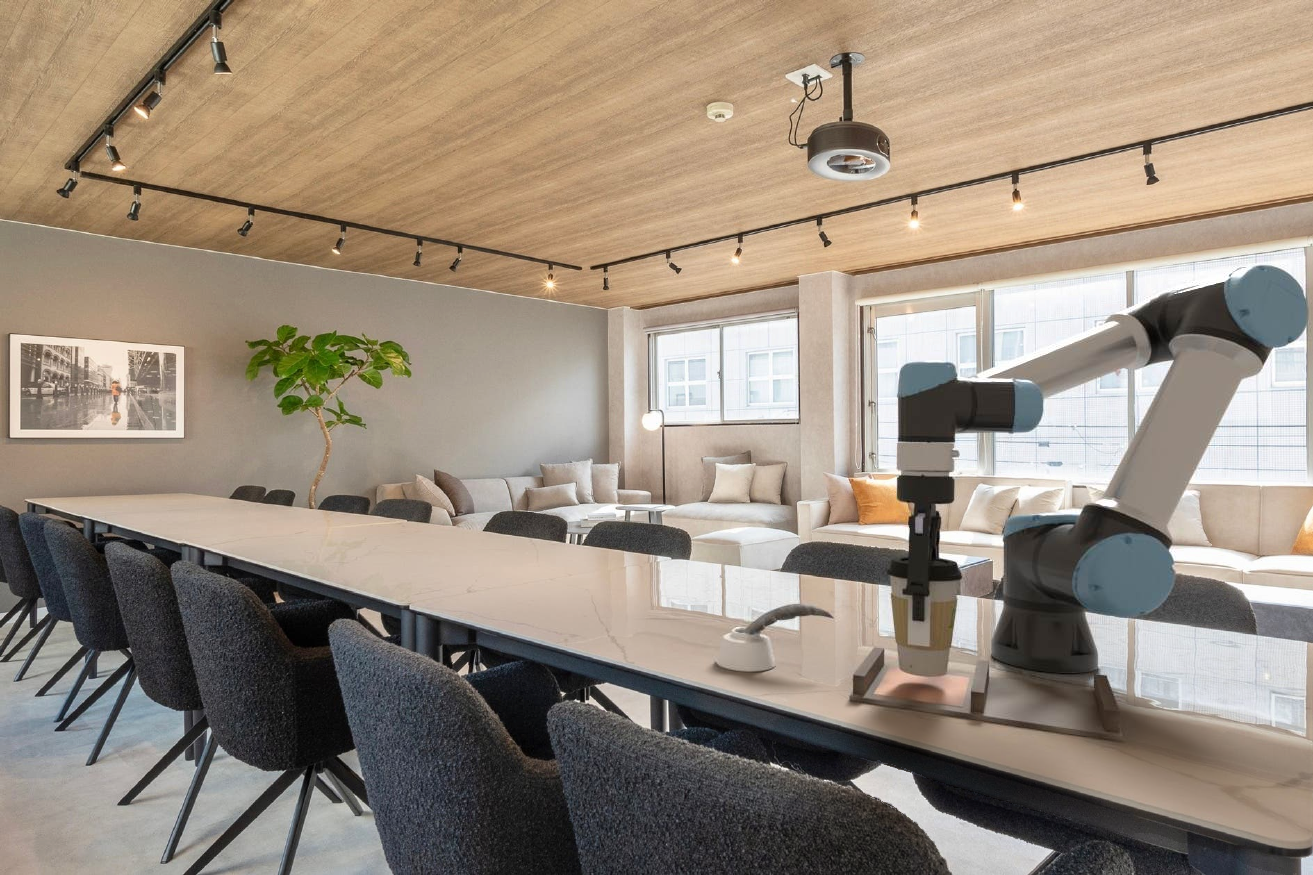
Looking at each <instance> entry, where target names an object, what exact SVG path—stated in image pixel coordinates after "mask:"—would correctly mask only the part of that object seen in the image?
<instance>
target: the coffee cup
mask: <svg viewBox="0 0 1313 875" xmlns="http://www.w3.org/2000/svg"><path fill="white" fill-rule="evenodd" d="M907 573H908V556H895V557H893V558H892V559H891V561H890V565H889V566H888V567H887V571H886V574H887V575H889V578H890V588H891V592H890V600H891V601H890V603H891V609H892V611H891V612H892V618H893V620H892V621H893V629H894V641H895V643H896V647H897V648H896V649H897V657H898V658H897V659H898V665H899V668H900V670H901V671H903V672H905V673H908V674H912V675H916V676H924V677H939V676H943V675H946V673H947V671H948V666H949V665H948V664H949V660H950V659H949V657H950V650H951V648H952V643H953V635H954V628H955V622H956V620H955V619H956V615H957V614H956V613H957V606H958V591H959V590H958V589H959V582H960V580H962V579H963V575H962V574H963V573H962V571H960V569H959V565H958V562H956V561H955V560H951V559H945V558H940V557H939V558H931V566H930V583H929V590H930V594H929V596H931V601H930V646H929V647H927V646H918V645H910V644H908V595H903V589H906V586H907ZM915 584H919V583H915Z"/></svg>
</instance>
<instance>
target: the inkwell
mask: <svg viewBox="0 0 1313 875" xmlns="http://www.w3.org/2000/svg"><path fill="white" fill-rule="evenodd" d="M807 616H814V617H816V616H817V617H825V618H830V619H835V617H834V616H833V615H832V614H830V613H829V612H828V611H827V610H825V609H822V608H820V607H817V606H815V605H811V604H805V603H792V604H791V603H790V604H785V605H781V606H779V607H776V608H774V609H772V610H769V611H767V612H765V613H764V614H762V615H761V616H759V617H758V618H756V619H754V621H752V622H751V623H750V624H749V625H748V626H746V627H745V626H744V627H743V626H742V627H741V626H739V627H734V628H733V629H731V632H728V633H727V634H726V633H725V634H724V635H723V636H722V639H721V641H720V645H719V649H718V652H717V656H716V661H715V663H716V665H718V666H719V667H720V668H724V669H725V670H731V671H736V672H745V673H746V672H748V673H752V672H753V673H754V672H764V671H768V670H771V669H773V668H776V664H777V663H776V658H775V654H774V650H773V646H772V643H771V638H770V637H769V636H767V635H766V634H762V632H761V631H764V630H765V629H766V627H769V626H771V625H773V624H775V623H777V622H778V621H788V620H793V619H796V617H798V618H799V617H801V618H802V617H807Z"/></svg>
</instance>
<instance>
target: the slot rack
mask: <svg viewBox="0 0 1313 875" xmlns="http://www.w3.org/2000/svg"><path fill="white" fill-rule="evenodd" d="M848 696H849V701H852V702H859V703H866V704H873V705H880V706H886V707H891V708H892V707H893V708H899V709H904V710H912V711H919V712H924V713H932V714H937V715H944V716H952V717H958V718H965V719H971V720H977V721H984V722H990V723H995V724H997V723H998V724H1004V725H1009V726H1017V727H1023V728H1030V729H1037V730H1043V731H1049V732H1054V733H1055V732H1056V733H1062V734H1067V735H1068V734H1069V735H1076V736H1081V737H1082V736H1083V737H1088V738H1095V739H1101V740H1109V741H1115V742H1121V743H1124V735H1123V732H1122V730H1121V710H1120V708H1119V705H1118V703H1117V702H1118V701H1117V700H1116V697H1115V694H1114V692H1113V689H1112V687H1111V683H1110V681H1109V679H1108V674H1098V673H1093V689H1086V688H1078V687H1072V686H1071V687H1069V686H1062V685H1056V684H1055V685H1054V684H1048V683H1047V684H1046V683H1039V682H1034V681H1033V682H1032V681H1026V680H1025V681H1023V680H1015V679H1010V678H1009V679H1007V678H1000V677H994V676H993V677H992V676H990V661H989V660H984V659H983V660H981V659H977V662H976V666H975V671H974V674H969V673H960V672H956V671H955V672H954V671H949V670H947V673H946V675H943V676H939V677H924V676H916V675H912V674H908V673H905V672H903V671H901V670H900V668H899V664H894V663H893V664H891V663H886V662H885V648H884V647H876V646H874V647H873V648H872V649H871V650H870V652H869V653H868V655H867V656H866V657H865V658H864V660H863V661H862V663H860V665H859V666H858V668H857V669H856V670H855V672H854V673H853V675H852V691H851V693H850V695H848Z"/></svg>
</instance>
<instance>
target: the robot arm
mask: <svg viewBox="0 0 1313 875" xmlns="http://www.w3.org/2000/svg"><path fill="white" fill-rule="evenodd" d="M1309 315H1310V314H1309V303H1308V299H1307V298H1306V297H1305V293H1304V289H1303V287H1302V286H1301V285H1300V282H1298V280H1297V279H1296V278H1295V277H1294V276H1292V275H1291V274H1290V273H1289V272H1287V271H1285V270H1284V269H1282V268H1280V267H1277V266H1274V265H1270V264H1267V265H1266V264H1259V265H1254V266H1248V267H1245V266H1244V267H1238V268H1235V269H1233V270H1231V271H1230V272H1226V273H1222V274H1219V275H1214V276H1211V277H1207V278H1203V279H1198V280H1193V281H1191V282H1190V281H1189V282H1185V283H1182V284H1179V285H1176V286H1173V287H1170V288H1168V289H1166V290H1164V291H1162V292H1159V293H1158V294H1155V295H1153V296H1151V297H1148V298H1147V299H1145V300H1143V301H1141V302H1139V303H1137V304H1135V305H1132V306H1130V307H1128V308H1126V309H1123V310H1121V311H1118V312H1116V313H1114V314H1113V313H1112V315H1110V316H1109V317H1107V318H1106V320H1105V321H1104V323H1103V324H1102V325H1100V326H1097V327H1095V328H1092V329H1089V330H1087V331H1085V332H1081V333H1079V334H1077V335H1074V336H1071V337H1068V338H1066V339H1063V340H1061V341H1058V342H1056V343H1053V344H1051V345H1048V346H1046V347H1043V348H1040V349H1038V350H1035V351H1032V352H1030V353H1027V354H1024V355H1022V356H1019V357H1017V358H1015V359H1011V360H1010V361H1006V362H1004V363H1002V364H1001V363H1000V364H998V365H996V366H994V367H990V368H989V369H985V370H983V371H981V372H978V373H975V374H973V375H971V376H969V377H960V376H958V373H957V367H956V365H955V363H953V362H951V361H943V360H922V361H921V360H919V361H912V362H908V363H905V364H904V365H902V366H901V368H900V370H899V375H898V384H897V385H898V386H897V394H896V397H897V442H896V469H897V471H899V472H900V474H899V475H898V477H896V500H897V501H899V502H901V503H907V504H909V503H910V504H913V505H914V506H913V514H911V515H909V516H908V522H907V526H908V530H909V532H908V554H907V555H908V556H907V557H908V573H907V586H906V589H903V595H908V644H910V645H918V646H927V647H929V646H930V601H931V596H929V594H930V590H929V583H930V566H931V558H940V540H941V527H942V526H941V525H942V516H941V513H940V511H939V510H937V505H949V504H952V503H953V502H955V478H954V476H950V473H953V472H954V471H955V459H954V458H959V457H960V451H959V450H957V449H955V443H956V434H957V435H958V434H990V433H992V434H994V433H997V434H999V433H1002V434H1003V433H1005V434H1009V435H1011V434H1012V435H1013V434H1014V433H1015V434H1017V433H1018V434H1019V433H1021V434H1022V433H1029V432H1032V431H1034V429H1036V428H1037V427H1038V425H1039V424H1040V423H1041V420H1042V419H1043V415H1044V403H1045V402H1044V400H1045V399H1048V398H1050V397H1052V396H1055V395H1057V394H1058V395H1059V394H1061V393H1063V392H1066V391H1067V390H1071V389H1073V388H1075V387H1078V386H1081V385H1083V384H1086V383H1088V382H1091V381H1094V380H1097V379H1099V378H1102V377H1104V376H1107V375H1110V374H1111V373H1112V374H1113V373H1114V372H1116V371H1119V370H1122V369H1126V370H1128V371H1137V370H1141V369H1142V368H1144V367H1148V366H1150V365H1155V364H1159V363H1163V362H1164V363H1165V362H1172V363H1171V365H1170V367H1169V369H1168V371H1167V372H1166V375H1165V377H1164V379H1163V380H1162V383H1161V384H1160V386H1159V387H1158V390H1157V392H1156V394H1155V396H1154V398H1153V399H1152V401H1151V403H1150V405H1149V407H1148V409H1147V412H1146V413H1145V415H1144V417H1143V419H1142V421H1141V423H1140V424H1139V426H1138V428H1137V430H1136V432H1135V434H1134V436H1133V437H1132V440H1131V442H1130V443H1129V445H1128V447H1127V449H1126V451H1125V453H1124V455H1123V457H1122V459H1121V461H1120V463H1119V465H1118V466H1117V468H1116V471H1115V472H1114V474H1113V476H1112V478H1111V480H1110V481H1109V484H1108V486H1107V487H1106V490H1105V492H1104V494H1103V495H1102V497H1101V498H1100V499H1098V500H1094V501H1091V502H1088V503H1086V504H1084V506H1083V508H1082V510H1081V512H1080V514H1078V513H1077V514H1072V513H1071V514H1069V513H1068V514H1066V513H1064V514H1063V513H1050V514H1049V513H1046V514H1045V513H1043V514H1019V515H1011V516H1010V517H1008V518H1007V519H1006V521H1005V522H1004V527H1003V528H1004V529H1003V535H1002V536H1003V537H1002V542H1003V603H1002V605H1003V607H1002V610H1001V613H1000V617H999V618H998V622H997V624H996V626H995V630H994V633H993V635H992V638H991V643H990V644H991V645H990V648H991V650H990V651H991V652H990V654H991V656H992V657H993V658H994V659H995V660H997V661H999V662H1001V663H1005V664H1007V665H1010V666H1014V667H1018V668H1023V669H1027V670H1032V671H1038V672H1046V673H1055V674H1056V673H1058V674H1083V673H1090V672H1094V671H1096V670H1097V669H1098V667H1099V652H1098V649H1097V646H1096V643H1095V638H1094V637H1093V634H1092V631H1091V628H1090V625H1089V623H1088V622H1089V621H1088V620H1087V616H1086V610H1088V611H1090V612H1092V613H1094V614H1097V615H1102V616H1107V617H1115V618H1121V619H1133V618H1138V617H1140V616H1145V615H1148V614H1149V613H1151V612H1153V611H1155V610H1156V609H1157V608H1159V607H1160V606H1161V605H1163V603H1164V602H1165V601H1166V600H1167V598H1168V597H1169V596H1170V594H1171V592H1172V589H1173V587H1174V584H1175V581H1176V570H1175V569H1174V568H1173V567H1174V566H1173V565H1174V564H1175V561H1174V557H1173V556H1172V553H1171V552H1170V550H1171V549H1170V548H1171V547H1172V545H1173V543H1174V539H1173V537H1172V535H1171V532H1170V531H1169V528H1168V524H1169V522H1170V521H1171V518H1172V517H1173V514H1174V513H1175V511H1176V508H1177V507H1178V504H1179V502H1181V499H1182V497H1183V495H1184V493H1185V491H1186V489H1187V487H1188V485H1189V483H1190V481H1191V480H1192V477H1193V476H1194V474H1195V471H1196V470H1197V468H1198V466H1199V465H1200V464H1199V463H1200V462H1201V460H1202V458H1203V456H1204V454H1205V453H1206V450H1207V448H1208V446H1209V444H1210V442H1211V440H1212V438H1213V437H1214V435H1215V434H1216V431H1217V429H1218V427H1219V425H1220V423H1221V421H1222V419H1223V417H1224V415H1225V413H1226V411H1227V410H1228V407H1229V406H1230V403H1231V402H1232V400H1233V398H1234V396H1235V393H1236V391H1237V390H1238V388H1239V386H1240V384H1241V382H1242V380H1244V379H1247V378H1251V377H1254V376H1256V375H1257V376H1258V374H1260V373H1261V371H1262V370H1263V367H1264V365H1265V363H1266V362H1267V360H1268V358H1269V356H1270V355H1271V352H1272V350H1273V349H1274V348H1275V349H1277V348H1279V349H1280V348H1282V347H1286V346H1287V345H1289V344H1292V343H1293V342H1295V341H1296V340H1299V338H1300V337H1301V336H1302V335H1303V334H1304V332H1305V329H1306V328H1307V325H1308V321H1309ZM915 583H919V584H915Z"/></svg>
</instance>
